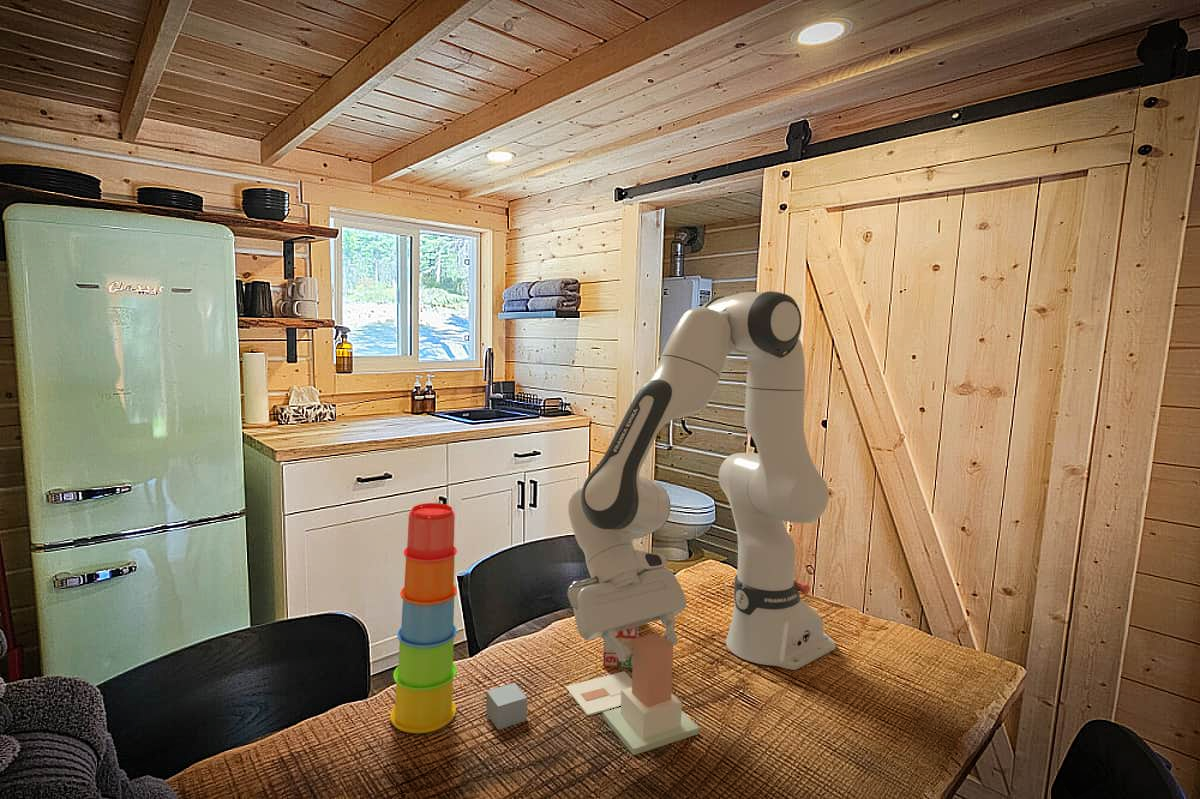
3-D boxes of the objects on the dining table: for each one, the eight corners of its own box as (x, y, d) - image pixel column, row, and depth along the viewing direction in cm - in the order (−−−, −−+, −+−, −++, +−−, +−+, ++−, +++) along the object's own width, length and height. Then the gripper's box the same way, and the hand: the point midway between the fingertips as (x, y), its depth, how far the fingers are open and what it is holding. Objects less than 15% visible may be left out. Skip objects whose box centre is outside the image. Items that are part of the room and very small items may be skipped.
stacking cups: (442, 690, 107) (442, 495, 103) (466, 720, 98) (467, 509, 95) (382, 709, 101) (379, 503, 97) (402, 743, 92) (400, 519, 89)
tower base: (664, 700, 105) (665, 672, 105) (699, 733, 97) (700, 703, 96) (602, 718, 100) (603, 688, 99) (633, 755, 91) (634, 723, 91)
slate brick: (514, 705, 103) (514, 682, 103) (526, 721, 99) (527, 697, 99) (486, 713, 101) (486, 690, 100) (497, 730, 96) (498, 706, 96)
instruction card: (624, 672, 114) (624, 670, 114) (650, 698, 106) (650, 696, 106) (565, 687, 108) (565, 685, 108) (587, 716, 100) (587, 713, 100)
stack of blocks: (612, 617, 137) (613, 563, 136) (640, 619, 136) (641, 565, 135) (602, 667, 116) (604, 604, 115) (636, 670, 115) (638, 607, 114)
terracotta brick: (654, 685, 101) (656, 632, 100) (671, 699, 97) (673, 644, 96) (631, 693, 98) (633, 639, 98) (648, 707, 95) (650, 651, 94)
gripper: (571, 575, 97) (603, 661, 90) (671, 553, 108) (706, 629, 101) (557, 592, 102) (586, 676, 94) (655, 569, 113) (688, 643, 105)
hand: (649, 651), depth 98 cm, fingers open, 8 cm apart
